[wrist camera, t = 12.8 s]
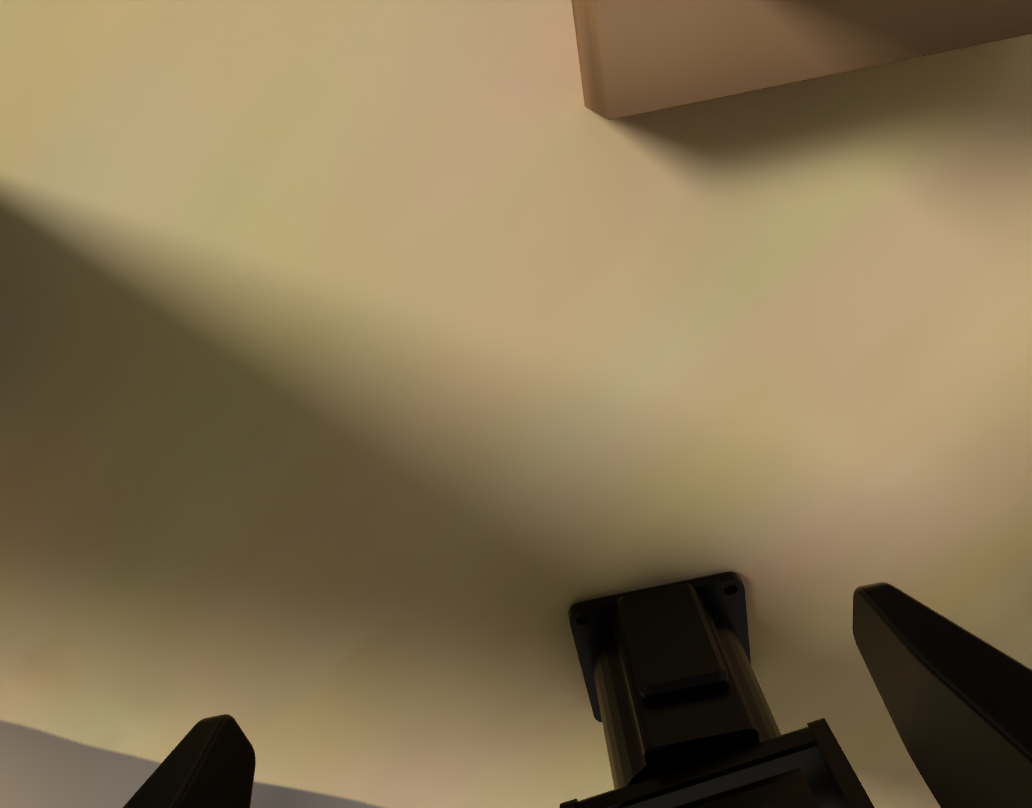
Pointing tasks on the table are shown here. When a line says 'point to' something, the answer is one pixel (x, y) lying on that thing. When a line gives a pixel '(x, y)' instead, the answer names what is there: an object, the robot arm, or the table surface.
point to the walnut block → (762, 43)
